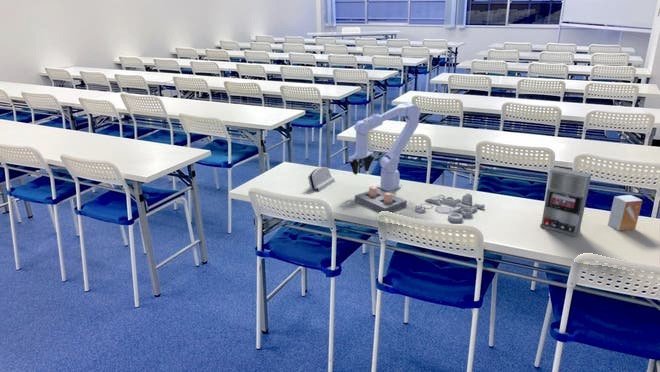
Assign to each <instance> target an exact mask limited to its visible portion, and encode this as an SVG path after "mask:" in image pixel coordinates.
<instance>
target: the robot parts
mask: <svg viewBox="0 0 660 372" xmlns="http://www.w3.org/2000/svg"><path fill="white" fill-rule="evenodd" d="M424 202H426V203H421V204H420V205H416V206H415V207H414V211H415V212H416V213H421V214H422V213H425V212H426V210H429V209H433V208H434V205H433V204H435V205H437V206H436V207H435V208H434V211H435V212H436V213H439V214H444V215H446V214H447V219H448V221H450V222H453V223H461V222H462V221H463V218H472V216H473V213H475V212H477V211H478V209H479V208H480V210H484V209H485V204H479V203H474V204H473V196H472V194H471V193H467V194H464V195H463V196H462V197H461V199H460V198H455V199H454V198H453V197H451V196H447V197H446V195H443V194H439V195H437V196H431V197H430V198H426V199H424ZM428 202H429V203H428ZM431 203H432V204H431ZM442 204H444V205H447V206H443V205H442ZM423 205H429V206H431V207H425V206H423ZM449 206H456V207H454V208H451V207H449ZM471 206H472V207H471ZM483 208H484V209H483Z"/></svg>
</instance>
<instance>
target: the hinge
mask: <svg viewBox="0 0 660 372" xmlns="http://www.w3.org/2000/svg"><path fill="white" fill-rule="evenodd" d="M307 179H308V182H309V183H308V184H309V187H310V190H312V191H313V190H318V192H321V191H322V190H324V189H325V188H327V187H328V186H331V185H332V184H333V183H335V182H336V181H335V178H334V177H332V174H331V172H330V169H329V168H328V167H325V166H323V167H318V168H317V167H316V168H315V169H314V170H312V171H311V172H310V173H309V175H308V177H307Z"/></svg>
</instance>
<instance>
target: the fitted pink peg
mask: <svg viewBox="0 0 660 372" xmlns="http://www.w3.org/2000/svg"><path fill="white" fill-rule="evenodd" d="M393 195H394V194H393V192H386V193H384V203H385V204H388V205H389V204H392V201H393Z"/></svg>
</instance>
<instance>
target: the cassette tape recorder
mask: <svg viewBox="0 0 660 372" xmlns="http://www.w3.org/2000/svg"><path fill="white" fill-rule="evenodd" d="M591 178H592V173H587V172H583V171H578V170H572V169H568V168H562V167H558V166H554V167H552V169H550V172H549V178H548V185H547V190H546V196H545V200H544V201H545V202H544V206H543V207H544V208H543V213H542V219H541V223H540V225H539V227H540V228H542V227H543V228H542V229H548V230H551V231H556V232H559V233H562V234H566V235H570V236H573V237H577V236H578V235H579V234H580V233H581V230H582V229H581V225H582V222H583V216H584V213H585V207H586V201H587V199H588V198H587V197H588V193H589V188H590V182H591Z"/></svg>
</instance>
